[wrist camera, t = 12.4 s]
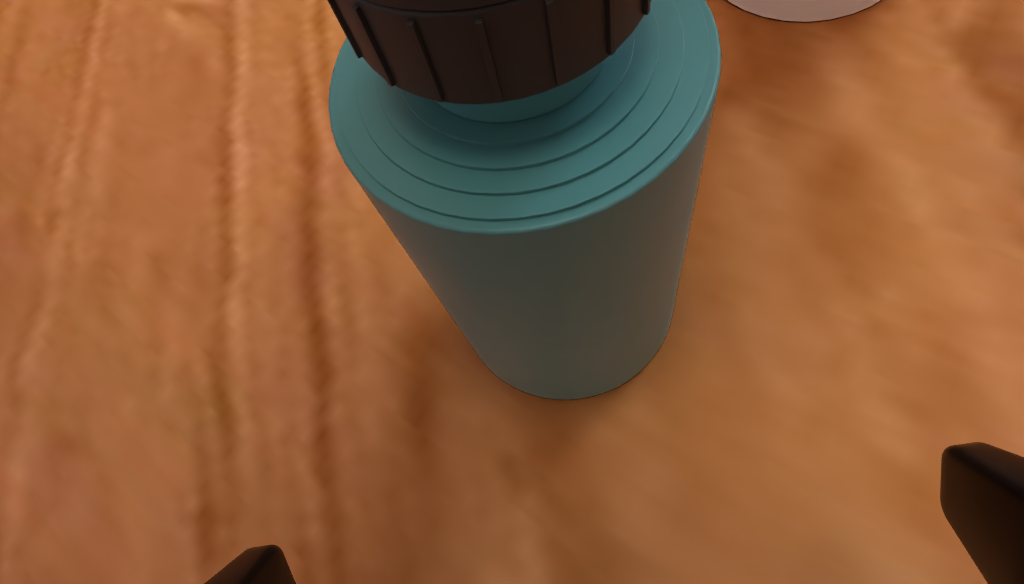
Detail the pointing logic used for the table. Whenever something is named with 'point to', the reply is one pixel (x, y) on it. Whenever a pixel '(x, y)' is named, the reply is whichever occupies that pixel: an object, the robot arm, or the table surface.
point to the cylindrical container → (803, 8)
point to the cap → (485, 43)
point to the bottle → (548, 200)
